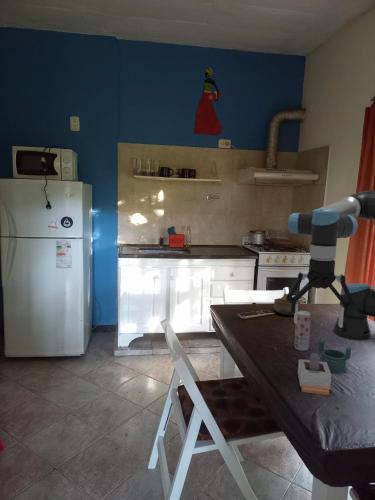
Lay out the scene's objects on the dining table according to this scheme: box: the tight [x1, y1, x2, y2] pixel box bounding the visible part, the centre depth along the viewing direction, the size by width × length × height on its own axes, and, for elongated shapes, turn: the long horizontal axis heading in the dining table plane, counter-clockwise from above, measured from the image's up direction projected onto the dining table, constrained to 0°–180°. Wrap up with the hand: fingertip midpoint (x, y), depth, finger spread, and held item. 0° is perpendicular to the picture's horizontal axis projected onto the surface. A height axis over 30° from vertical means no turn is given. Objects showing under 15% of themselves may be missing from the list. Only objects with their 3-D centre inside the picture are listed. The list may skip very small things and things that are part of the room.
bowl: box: [273, 293, 301, 316], centre depth 190 cm, size 18×14×10 cm
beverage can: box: [293, 310, 312, 352], centre depth 143 cm, size 6×6×15 cm
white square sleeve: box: [297, 358, 332, 391], centre depth 115 cm, size 9×9×5 cm
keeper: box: [300, 352, 330, 396], centre depth 115 cm, size 8×12×10 cm, turn 167°
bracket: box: [317, 339, 352, 373], centre depth 127 cm, size 9×9×9 cm
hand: (317, 324), depth 113 cm, fingers open, 13 cm apart
